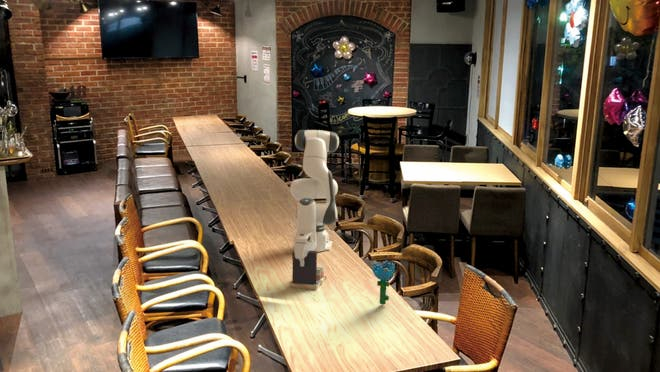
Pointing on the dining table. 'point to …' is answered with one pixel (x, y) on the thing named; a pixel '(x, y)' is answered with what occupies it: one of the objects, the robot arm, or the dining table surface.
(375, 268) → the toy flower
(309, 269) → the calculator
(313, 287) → the sticky note pad set
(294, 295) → the dining table surface
